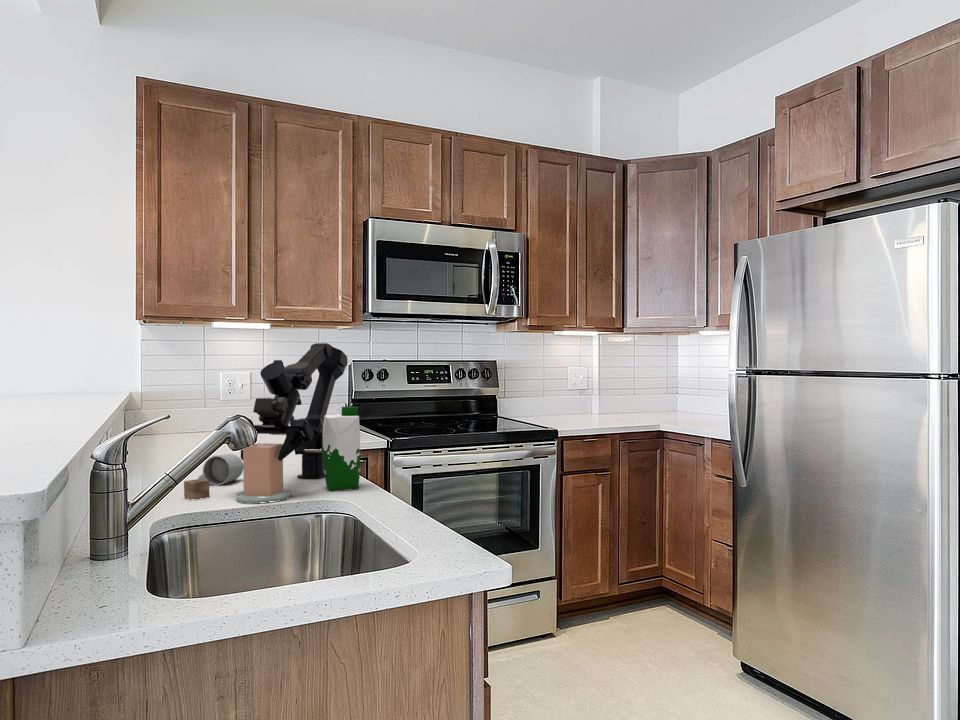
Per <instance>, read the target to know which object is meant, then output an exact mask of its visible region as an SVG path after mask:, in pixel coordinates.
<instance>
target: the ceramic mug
mask: <svg viewBox="0 0 960 720" xmlns="http://www.w3.org/2000/svg"><path fill="white" fill-rule="evenodd" d="M202 473H203V474H202ZM202 473H201V474H200V475H199V476H198V477H197V479H205V480H209V485H211V486H215V485H216V487H217V485H219V486H223V485H225V484H228V483H230V482H233V481H236V480H237V479H238V478H240V477H241V476H242V474H243V460H242V459H241V457H239V456H238V455H236V454H233V453H232V454H231V453H225V454H217V455H212V456H210V457H208V458H207V460H206V461H205V462H204V464H203V467H202Z"/></svg>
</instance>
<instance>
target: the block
mask: <svg viewBox="0 0 960 720" xmlns="http://www.w3.org/2000/svg"><path fill="white" fill-rule="evenodd" d="M210 495H211V494H210V484H209V480H205V479H198V478H197V479H190V480H184V482H183V497H185V498H184V499H186V498H189V499H188V500H190V499H197V500H201V499H200V498H203V499H207V497H208V498H210Z"/></svg>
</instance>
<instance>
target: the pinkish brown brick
mask: <svg viewBox="0 0 960 720" xmlns="http://www.w3.org/2000/svg"><path fill="white" fill-rule="evenodd" d="M282 445H283V443H259V442H258V443H255V444H253V445H252V446H250V447H248V448H245V449H243V460H242V462H243V472H242V474H243V491H244V496H272V495H274V494H276V493H278V492H281V491H283V488H284V459H283V460H281V461H279V460H278V456H279V453H280V450H281V448H282Z"/></svg>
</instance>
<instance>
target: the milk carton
mask: <svg viewBox="0 0 960 720" xmlns="http://www.w3.org/2000/svg"><path fill="white" fill-rule="evenodd" d="M360 430H361V428H360V416H359V407H358V406H356V405H355V406H353V405H352V406H341V414H339V413H335V414H326V415H324V425H323V470H324V475H325V476H324V479H325V484H326V487H327V490H328V492H335V491H336V490H339V491H348V490H347V489H352V490H359V486H360V478H361V477H360V476H361V475H360V474H361V431H360ZM336 492H337V491H336Z"/></svg>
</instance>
